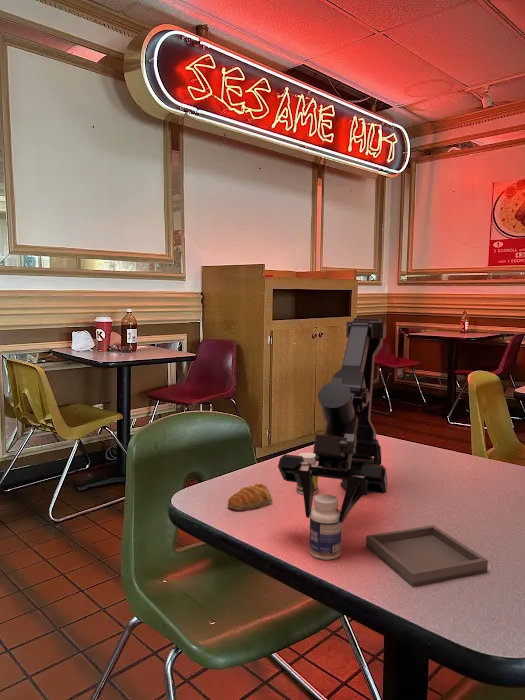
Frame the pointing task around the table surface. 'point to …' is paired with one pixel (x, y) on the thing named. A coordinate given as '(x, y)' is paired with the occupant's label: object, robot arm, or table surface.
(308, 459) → the supplement bottle
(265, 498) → the pastry
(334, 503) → the pill bottle
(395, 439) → the table surface
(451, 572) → the tray
